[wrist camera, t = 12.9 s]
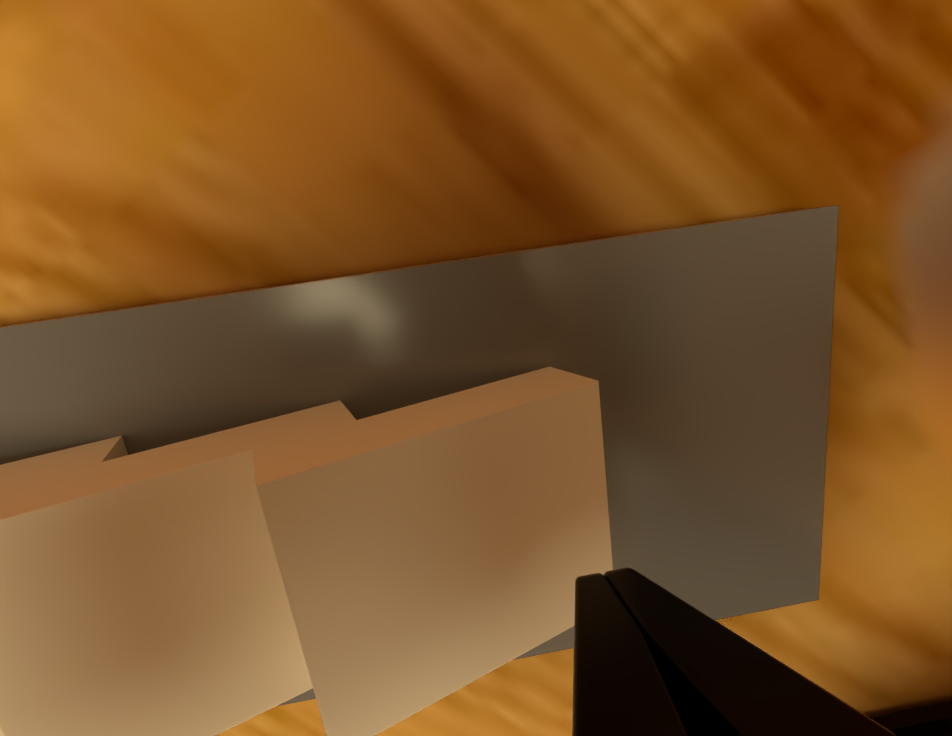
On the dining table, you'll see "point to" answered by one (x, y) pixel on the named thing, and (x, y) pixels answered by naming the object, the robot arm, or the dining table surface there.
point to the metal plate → (507, 355)
